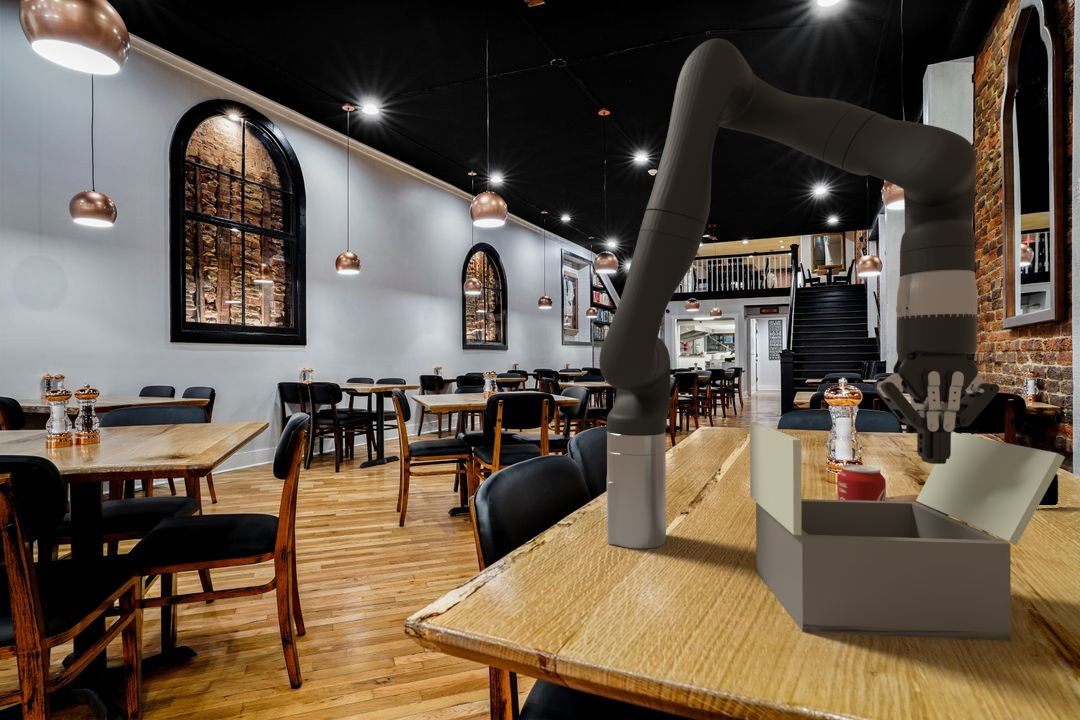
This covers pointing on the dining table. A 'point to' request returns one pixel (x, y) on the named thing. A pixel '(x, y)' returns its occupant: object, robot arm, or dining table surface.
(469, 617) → the dining table surface
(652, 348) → the robot arm
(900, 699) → the dining table surface
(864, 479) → the beverage can
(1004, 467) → the flap
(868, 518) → the carton
